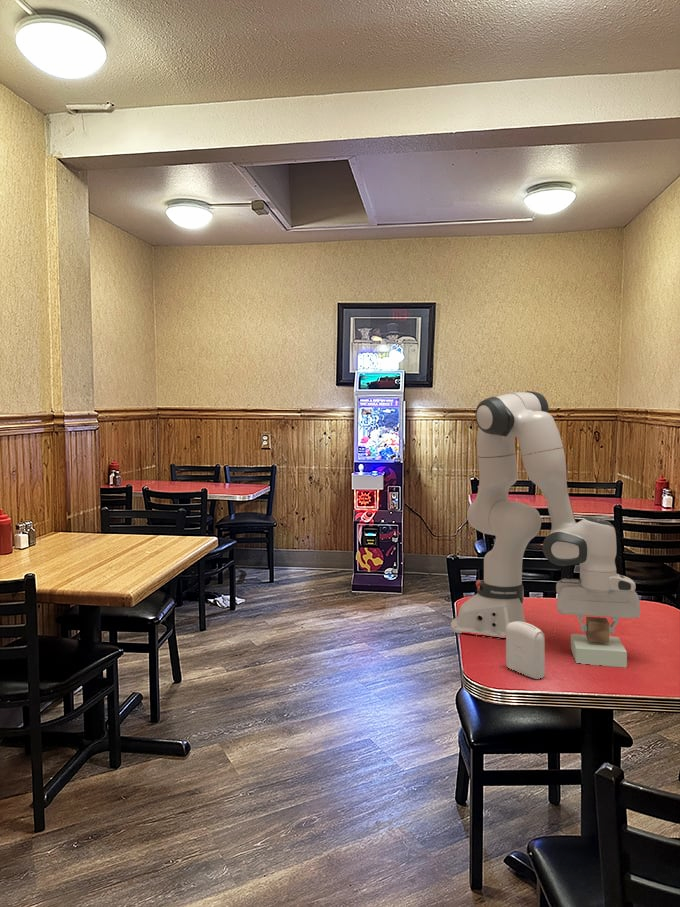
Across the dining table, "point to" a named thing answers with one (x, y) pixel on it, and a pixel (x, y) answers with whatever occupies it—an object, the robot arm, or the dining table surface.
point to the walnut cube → (597, 629)
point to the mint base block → (598, 651)
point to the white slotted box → (525, 649)
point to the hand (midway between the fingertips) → (597, 632)
